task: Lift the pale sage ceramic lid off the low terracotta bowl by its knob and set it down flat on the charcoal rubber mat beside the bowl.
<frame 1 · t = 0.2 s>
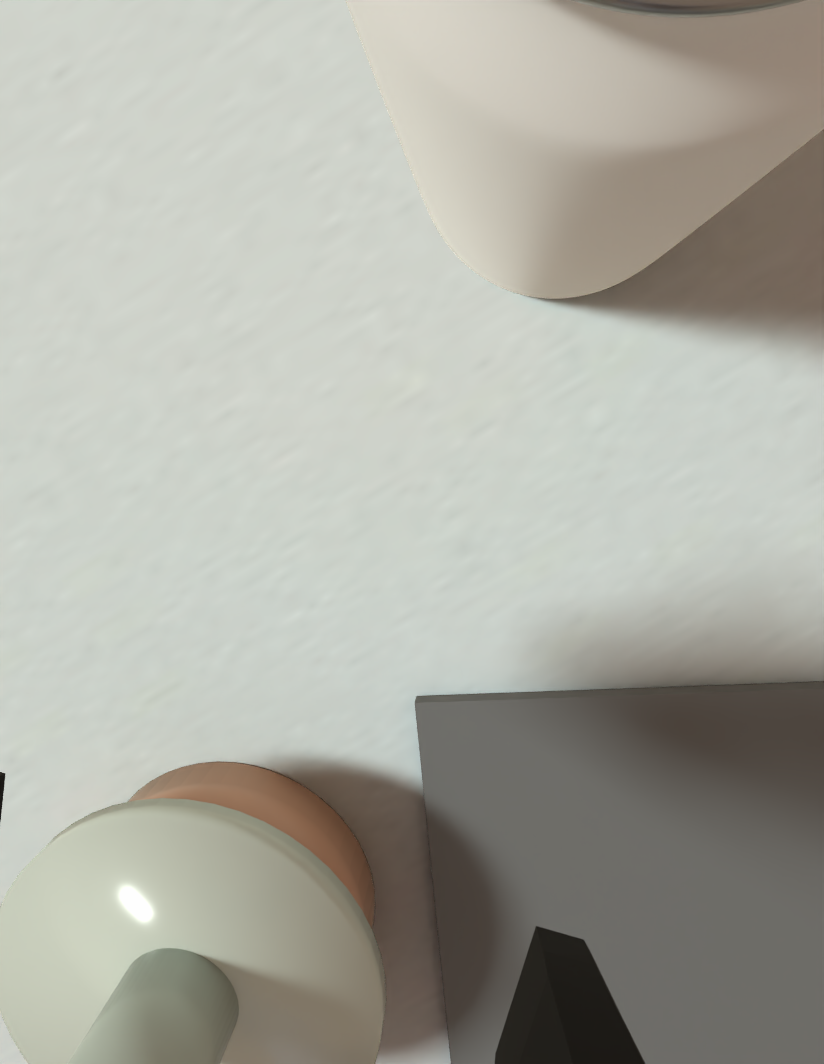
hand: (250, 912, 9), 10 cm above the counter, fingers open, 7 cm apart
can: (560, 155, 16), on the counter
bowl: (236, 889, 21), on the counter
mat: (654, 982, 20), on the counter
lid: (193, 973, 18), point 3 cm above the counter, touching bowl
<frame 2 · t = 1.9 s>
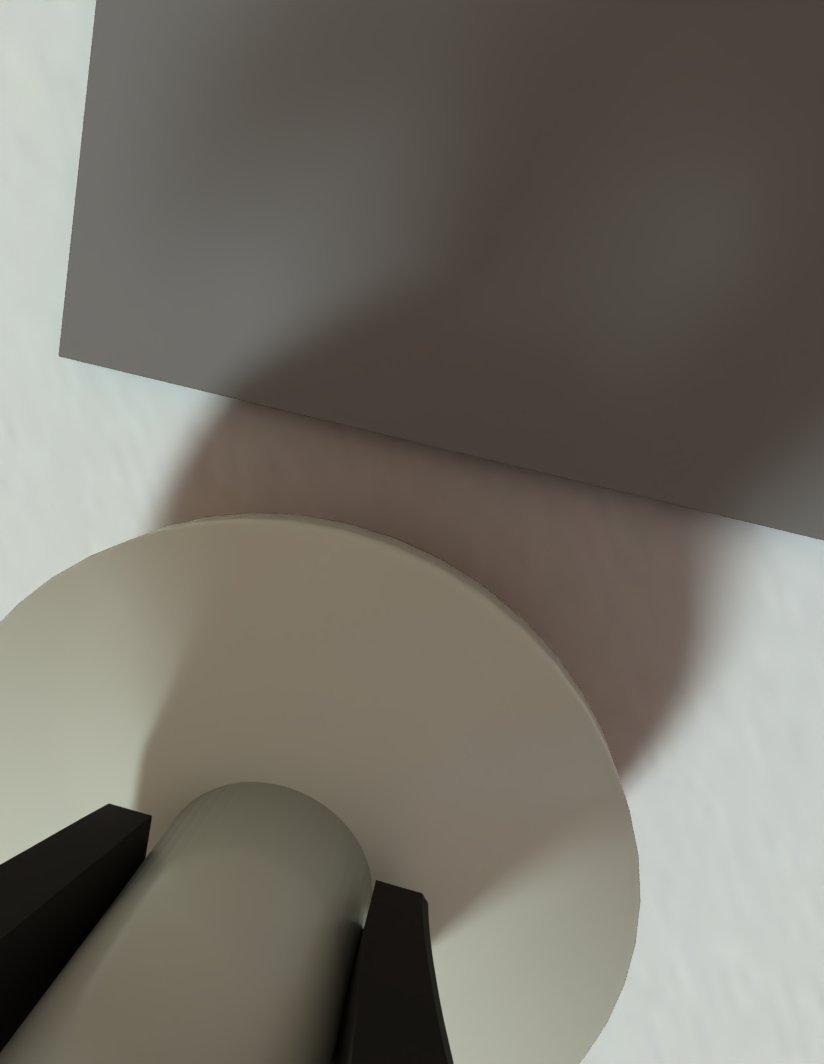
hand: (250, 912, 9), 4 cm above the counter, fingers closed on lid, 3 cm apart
mat: (678, 89, 10), on the counter
lid: (282, 843, 10), point 3 cm above the counter, touching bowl, gripper
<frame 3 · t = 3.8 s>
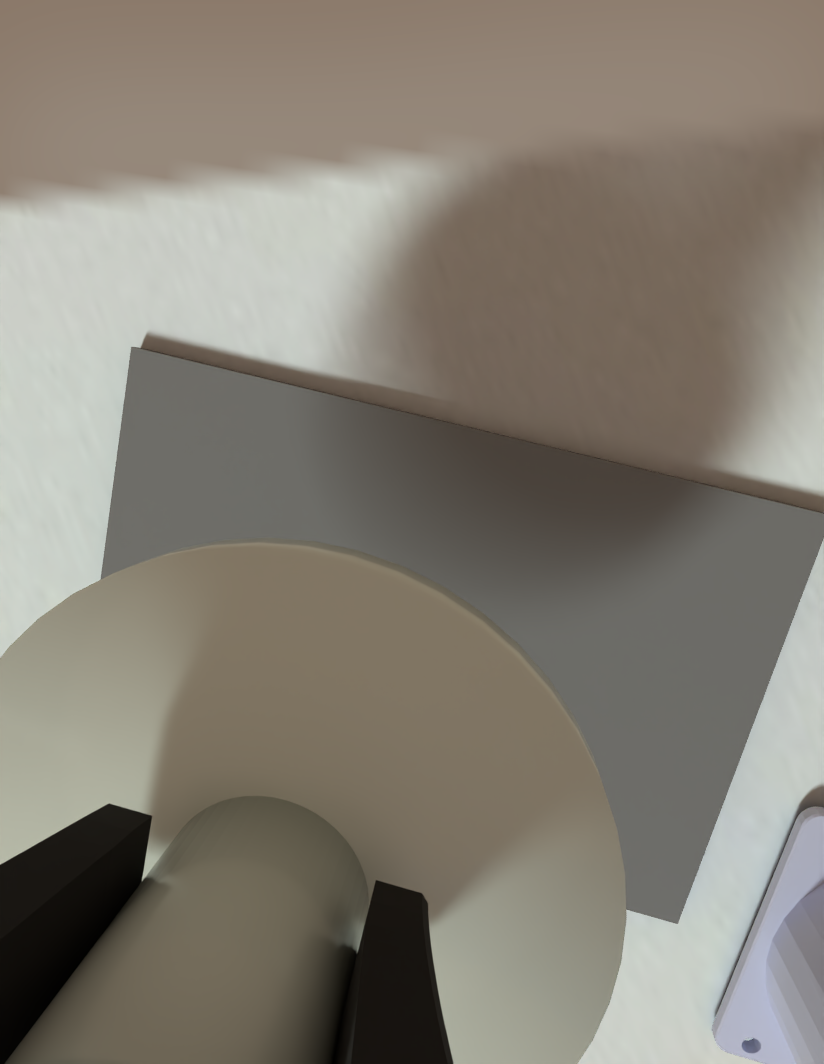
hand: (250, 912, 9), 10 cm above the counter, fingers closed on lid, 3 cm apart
mat: (416, 641, 19), on the counter
lid: (281, 858, 11), point 9 cm above the counter, touching gripper
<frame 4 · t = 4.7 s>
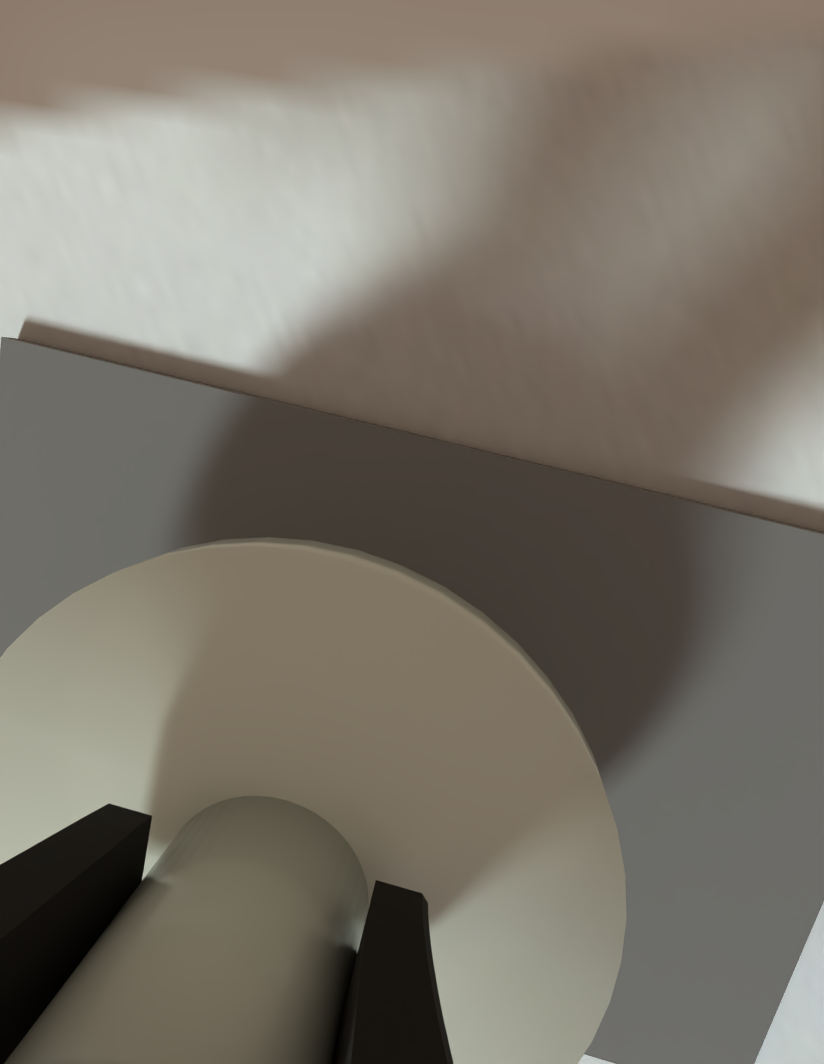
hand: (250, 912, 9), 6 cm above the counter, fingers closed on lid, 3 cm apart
mat: (391, 728, 14), on the counter
lid: (281, 858, 11), point 4 cm above the counter, touching gripper
when the fingers open (3 cm above the counter, at t = 5.5 s): lid drops 1 cm, resting on mat.
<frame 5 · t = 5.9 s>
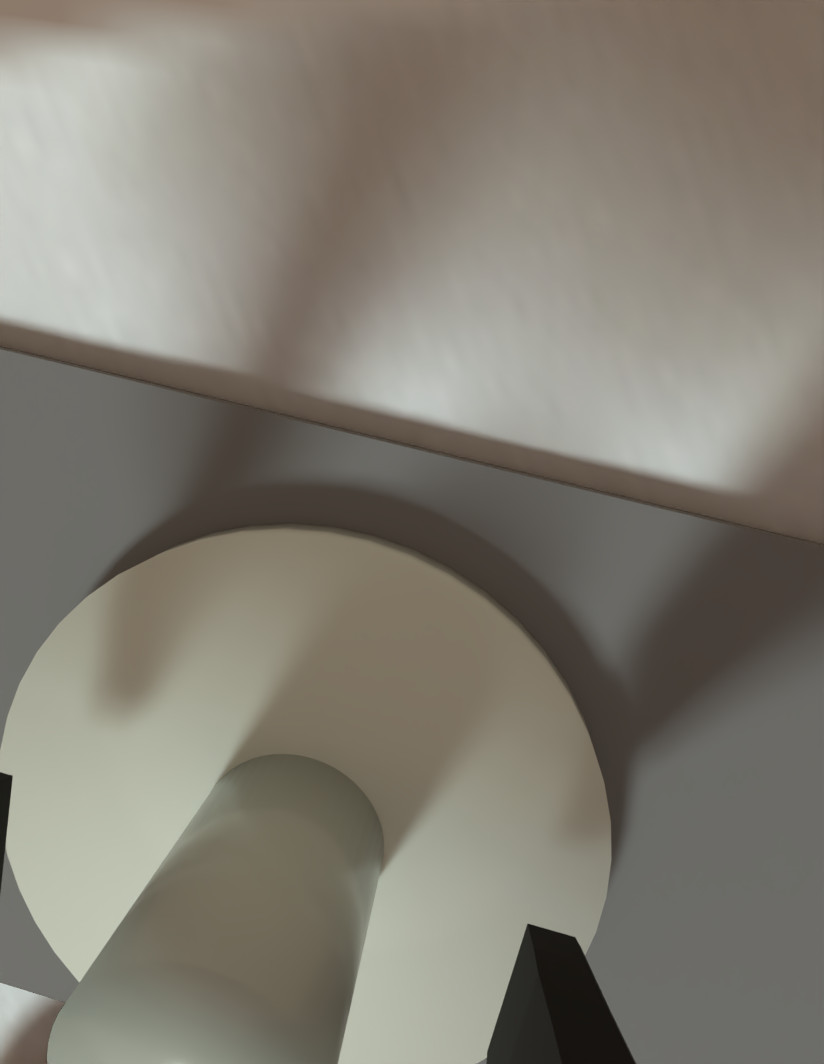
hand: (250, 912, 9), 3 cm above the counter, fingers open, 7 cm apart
mat: (370, 788, 12), on the counter
lid: (304, 809, 12), resting on mat
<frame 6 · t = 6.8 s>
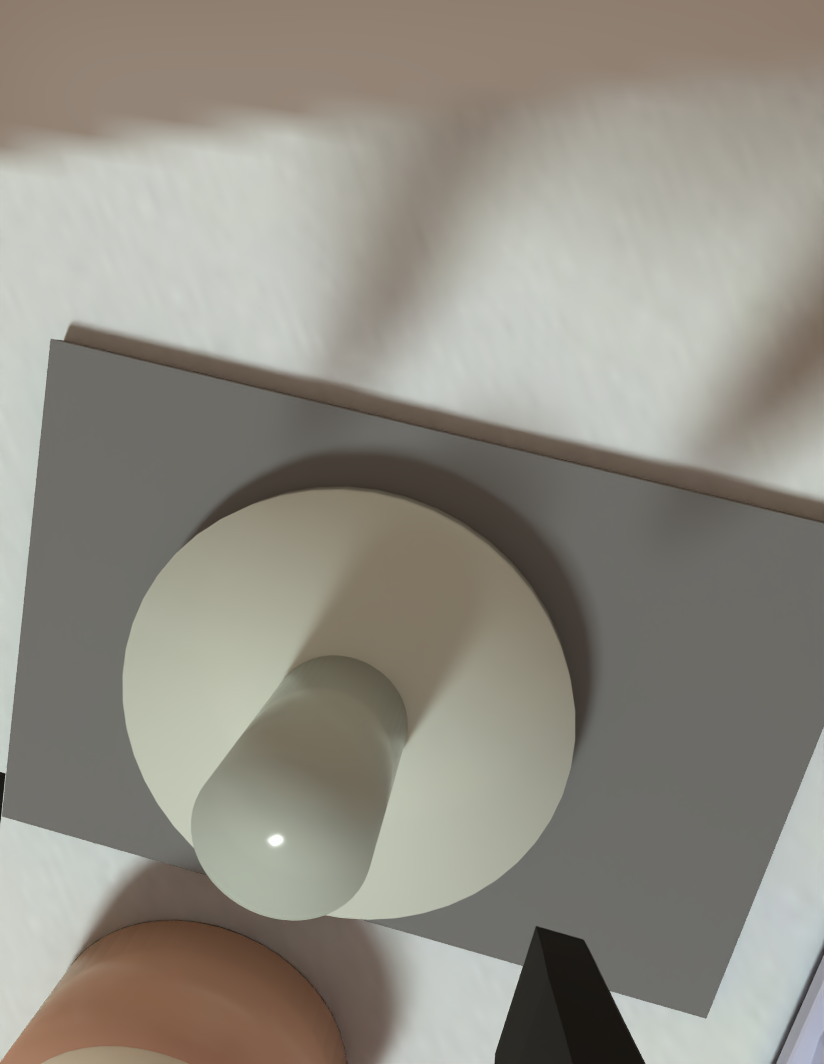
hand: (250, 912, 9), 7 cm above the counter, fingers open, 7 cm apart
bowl: (196, 1053, 19), on the counter
mat: (397, 688, 16), on the counter
lid: (347, 703, 16), resting on mat
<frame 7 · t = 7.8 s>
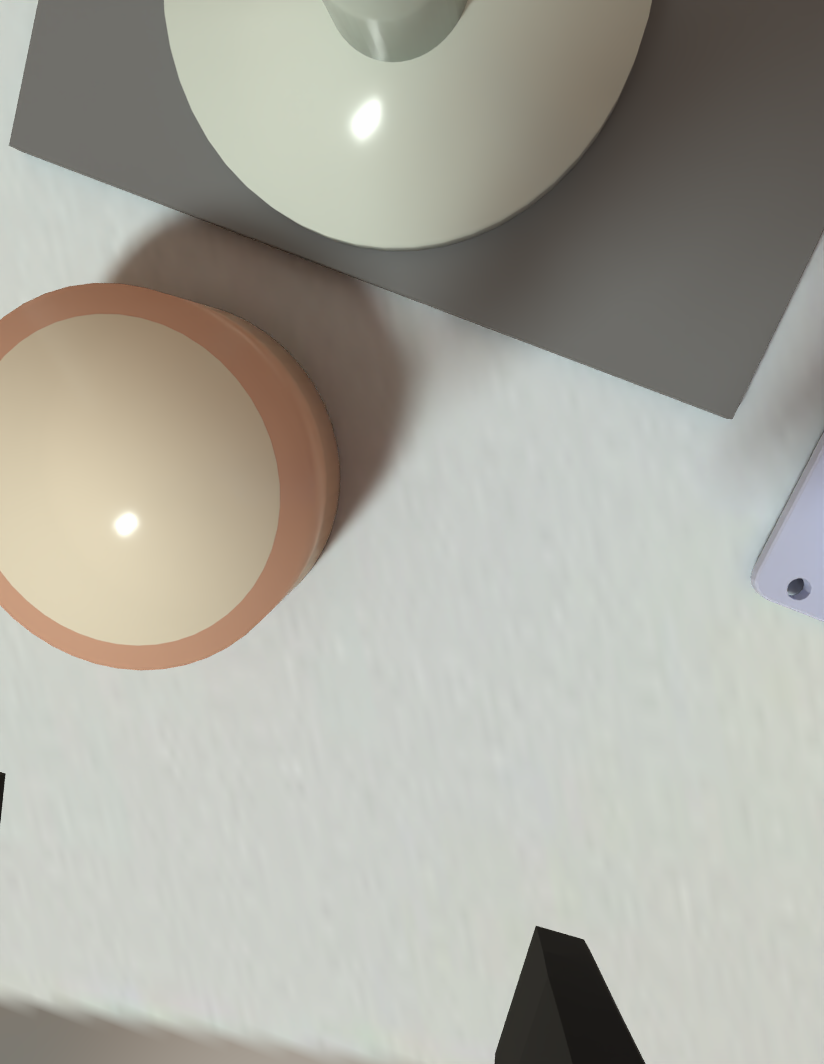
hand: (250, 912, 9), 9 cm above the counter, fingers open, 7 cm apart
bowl: (180, 471, 18), on the counter
mat: (457, 6, 15), on the counter
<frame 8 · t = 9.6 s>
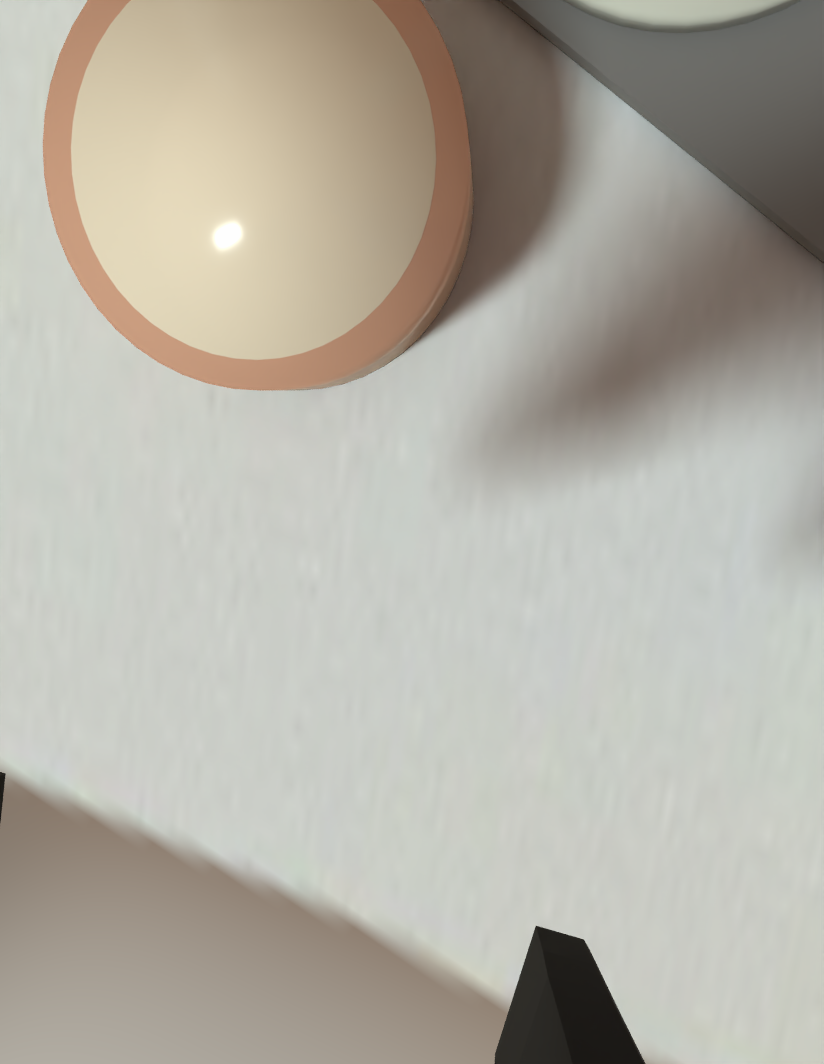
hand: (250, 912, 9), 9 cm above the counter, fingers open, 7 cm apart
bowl: (293, 206, 16), on the counter
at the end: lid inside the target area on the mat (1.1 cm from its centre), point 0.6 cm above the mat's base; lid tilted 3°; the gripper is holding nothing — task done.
